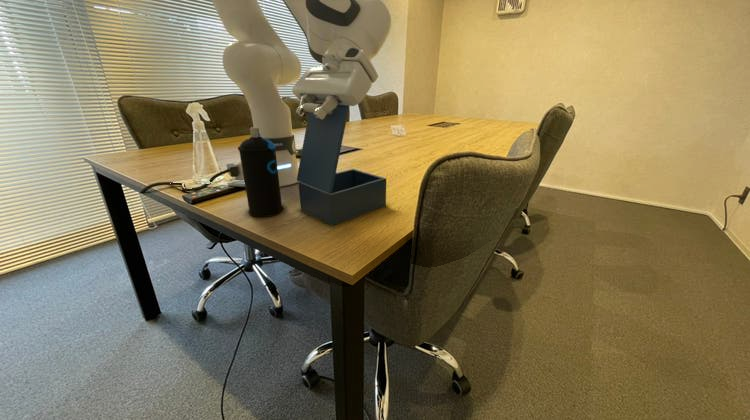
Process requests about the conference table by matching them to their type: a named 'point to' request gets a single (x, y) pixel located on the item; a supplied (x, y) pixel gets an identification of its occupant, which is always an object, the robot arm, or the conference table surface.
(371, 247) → the conference table surface
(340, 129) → the lid
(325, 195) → the box
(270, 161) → the aerosol can
